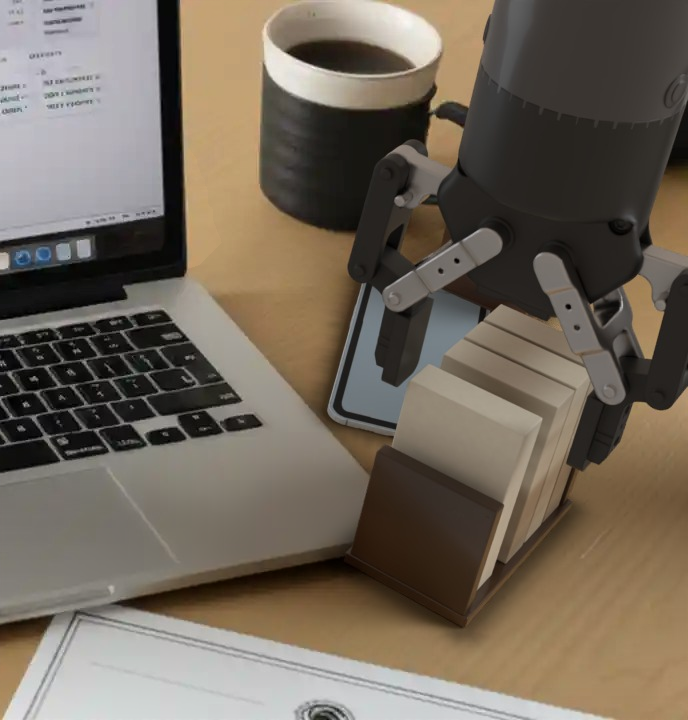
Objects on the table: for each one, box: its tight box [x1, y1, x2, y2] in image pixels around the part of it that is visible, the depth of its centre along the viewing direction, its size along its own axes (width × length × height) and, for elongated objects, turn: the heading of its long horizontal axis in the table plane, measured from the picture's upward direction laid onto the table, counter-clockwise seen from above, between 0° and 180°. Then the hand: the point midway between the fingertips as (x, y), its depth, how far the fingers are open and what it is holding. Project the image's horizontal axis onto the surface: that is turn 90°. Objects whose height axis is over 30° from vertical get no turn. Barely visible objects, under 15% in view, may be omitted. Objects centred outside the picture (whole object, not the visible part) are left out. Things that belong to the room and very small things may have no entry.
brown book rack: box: [343, 304, 594, 629], centre depth 75 cm, size 6×11×10 cm, turn 141°
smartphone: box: [326, 282, 490, 437], centre depth 90 cm, size 7×1×15 cm
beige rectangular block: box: [391, 364, 542, 590], centre depth 73 cm, size 6×2×9 cm, turn 51°
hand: (487, 417), depth 70 cm, fingers open, 8 cm apart
